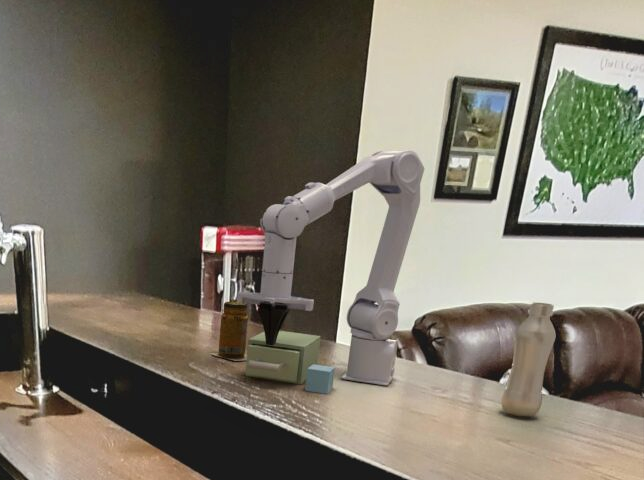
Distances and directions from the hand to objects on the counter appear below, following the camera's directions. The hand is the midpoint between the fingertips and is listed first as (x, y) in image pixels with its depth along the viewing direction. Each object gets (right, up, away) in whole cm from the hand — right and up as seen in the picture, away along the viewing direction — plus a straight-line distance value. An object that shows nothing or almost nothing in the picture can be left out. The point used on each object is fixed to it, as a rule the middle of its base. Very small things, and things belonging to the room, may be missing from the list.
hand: (270, 344), depth 139 cm
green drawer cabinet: (+4, -4, +12) cm, 13 cm away
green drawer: (+2, -5, +7) cm, 9 cm away
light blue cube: (+9, -9, +1) cm, 13 cm away
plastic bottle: (+44, -14, -8) cm, 47 cm away
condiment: (-6, +1, +25) cm, 25 cm away
